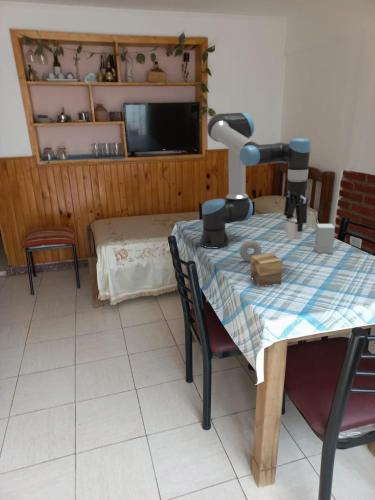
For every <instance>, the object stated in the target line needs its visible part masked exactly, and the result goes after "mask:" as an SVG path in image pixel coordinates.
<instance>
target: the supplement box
mask: <svg viewBox="0 0 375 500" xmlns="http://www.w3.org/2000/svg"><path fill="white" fill-rule="evenodd" d="M315 227H316V228H315V240H314V250H315V252H316V253H318V254H333V251H334V244H335V241H334V240H335V230H336V227H335V226H334V224H333V223H316V226H315Z"/></svg>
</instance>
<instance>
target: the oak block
mask: <svg viewBox="0 0 375 500" xmlns="http://www.w3.org/2000/svg"><path fill="white" fill-rule="evenodd" d="M251 268H252V269H253V270H254V271H255V272H257V273H258V274H259V275H260V276H263V275H269V274H275V273H282V274H283V260H282V259H281V258H279V257H278V256H276V255H275V254H273V253H272V252H270V253H261V254H260V255H253V256H251V261H250V269H251Z"/></svg>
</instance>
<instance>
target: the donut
mask: <svg viewBox="0 0 375 500" xmlns="http://www.w3.org/2000/svg"><path fill="white" fill-rule="evenodd" d="M251 248H252V249H253V252H252V253H251V254H250V253H248V250H249V249H251ZM262 251H263V249H262V246H261V244H260V243H259V242H258V241H256V240H250V239H249V240H246V241H245V242H243V243H242V244H241V246H240V248H239V255H240V257H241V259H243V260H244V261H245V262H251V256H253V255H260V254H262Z"/></svg>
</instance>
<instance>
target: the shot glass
mask: <svg viewBox="0 0 375 500" xmlns="http://www.w3.org/2000/svg"><path fill="white" fill-rule="evenodd" d="M295 223H297V218H294V219H287V218H286V219H285V235H286V238H288V239H289V240H290V239H291V240H296V239H295V225H296V224H295Z"/></svg>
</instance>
